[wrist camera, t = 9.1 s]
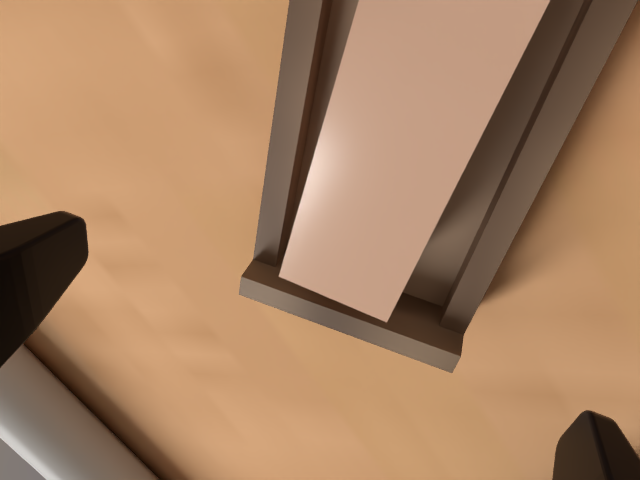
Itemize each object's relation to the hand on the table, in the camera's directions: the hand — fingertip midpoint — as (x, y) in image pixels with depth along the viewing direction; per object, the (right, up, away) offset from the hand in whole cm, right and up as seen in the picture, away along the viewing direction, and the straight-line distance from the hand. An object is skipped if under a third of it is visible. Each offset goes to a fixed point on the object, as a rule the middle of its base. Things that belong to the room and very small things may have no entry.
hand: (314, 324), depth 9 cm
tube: (-16, -12, +30) cm, 36 cm away
